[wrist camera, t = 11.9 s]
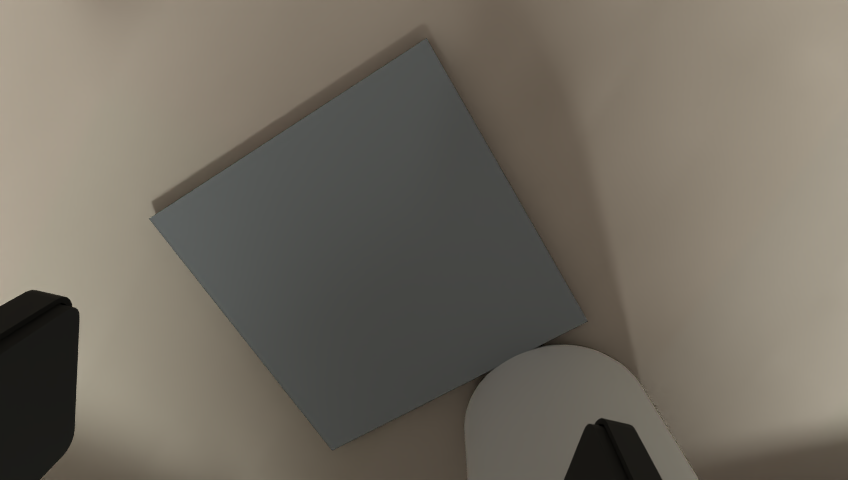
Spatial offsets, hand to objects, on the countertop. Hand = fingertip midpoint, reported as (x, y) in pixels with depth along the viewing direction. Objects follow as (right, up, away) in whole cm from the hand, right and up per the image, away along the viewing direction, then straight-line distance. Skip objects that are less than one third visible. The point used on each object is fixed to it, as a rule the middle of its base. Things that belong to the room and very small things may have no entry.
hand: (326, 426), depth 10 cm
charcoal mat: (0, +2, +8) cm, 8 cm away
